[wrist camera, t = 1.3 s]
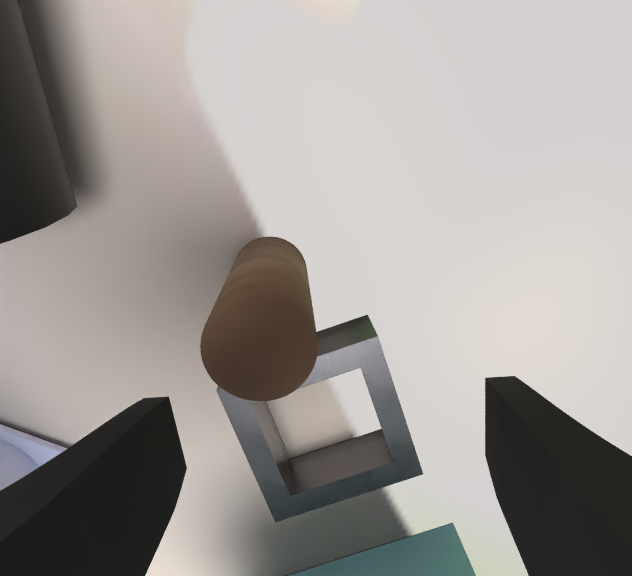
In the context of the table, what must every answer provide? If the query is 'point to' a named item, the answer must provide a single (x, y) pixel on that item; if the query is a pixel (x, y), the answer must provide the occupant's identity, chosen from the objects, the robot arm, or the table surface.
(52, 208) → the security camera
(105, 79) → the table surface
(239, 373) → the walnut peg
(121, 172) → the table surface
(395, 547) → the teal block
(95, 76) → the table surface
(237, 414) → the gray socket
